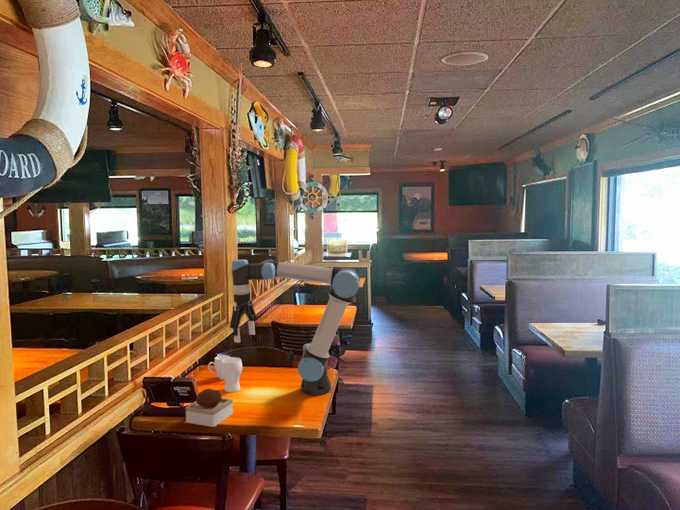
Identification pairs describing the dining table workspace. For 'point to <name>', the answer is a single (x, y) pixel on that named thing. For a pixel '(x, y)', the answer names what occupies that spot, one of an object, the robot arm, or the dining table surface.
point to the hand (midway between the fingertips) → (244, 338)
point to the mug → (218, 365)
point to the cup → (231, 373)
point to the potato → (209, 398)
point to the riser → (209, 413)
